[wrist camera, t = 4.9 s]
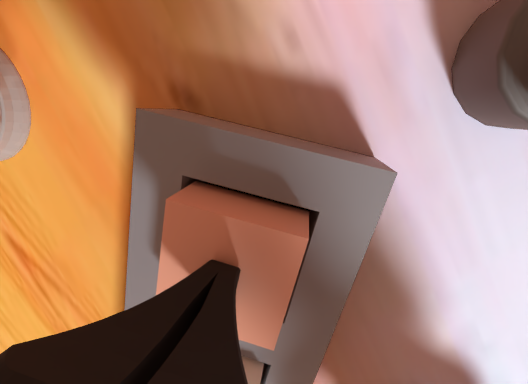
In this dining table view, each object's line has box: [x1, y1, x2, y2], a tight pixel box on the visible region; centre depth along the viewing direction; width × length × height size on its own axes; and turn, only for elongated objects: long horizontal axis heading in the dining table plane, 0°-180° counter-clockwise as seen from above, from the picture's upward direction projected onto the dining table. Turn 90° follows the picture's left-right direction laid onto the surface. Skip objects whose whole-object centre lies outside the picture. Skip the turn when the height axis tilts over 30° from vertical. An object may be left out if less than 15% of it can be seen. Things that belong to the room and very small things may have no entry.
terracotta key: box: [156, 181, 309, 351], centre depth 13 cm, size 6×6×3 cm
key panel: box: [125, 108, 397, 384], centre depth 17 cm, size 12×22×4 cm, turn 168°
